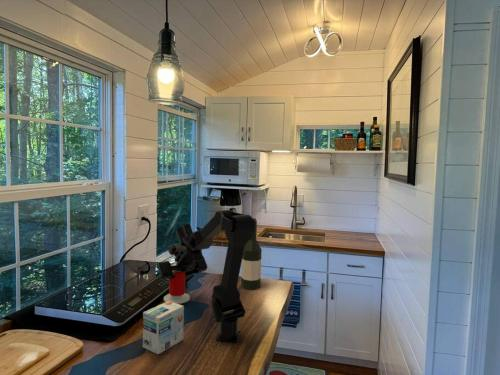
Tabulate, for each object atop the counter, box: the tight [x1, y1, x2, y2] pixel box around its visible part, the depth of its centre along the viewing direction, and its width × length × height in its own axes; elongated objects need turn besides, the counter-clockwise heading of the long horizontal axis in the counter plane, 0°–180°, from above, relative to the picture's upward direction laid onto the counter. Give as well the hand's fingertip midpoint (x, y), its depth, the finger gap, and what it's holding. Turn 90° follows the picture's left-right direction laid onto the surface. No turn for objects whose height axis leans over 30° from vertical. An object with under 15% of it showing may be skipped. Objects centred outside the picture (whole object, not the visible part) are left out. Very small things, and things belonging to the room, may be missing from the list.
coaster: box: [163, 292, 191, 305], centre depth 138 cm, size 10×10×1 cm
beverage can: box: [168, 263, 186, 297], centre depth 137 cm, size 6×6×12 cm
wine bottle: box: [240, 217, 263, 291], centre depth 153 cm, size 8×8×30 cm
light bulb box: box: [142, 301, 185, 355], centre depth 105 cm, size 11×7×11 cm, turn 148°
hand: (175, 277), depth 138 cm, fingers closed on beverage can, 6 cm apart
